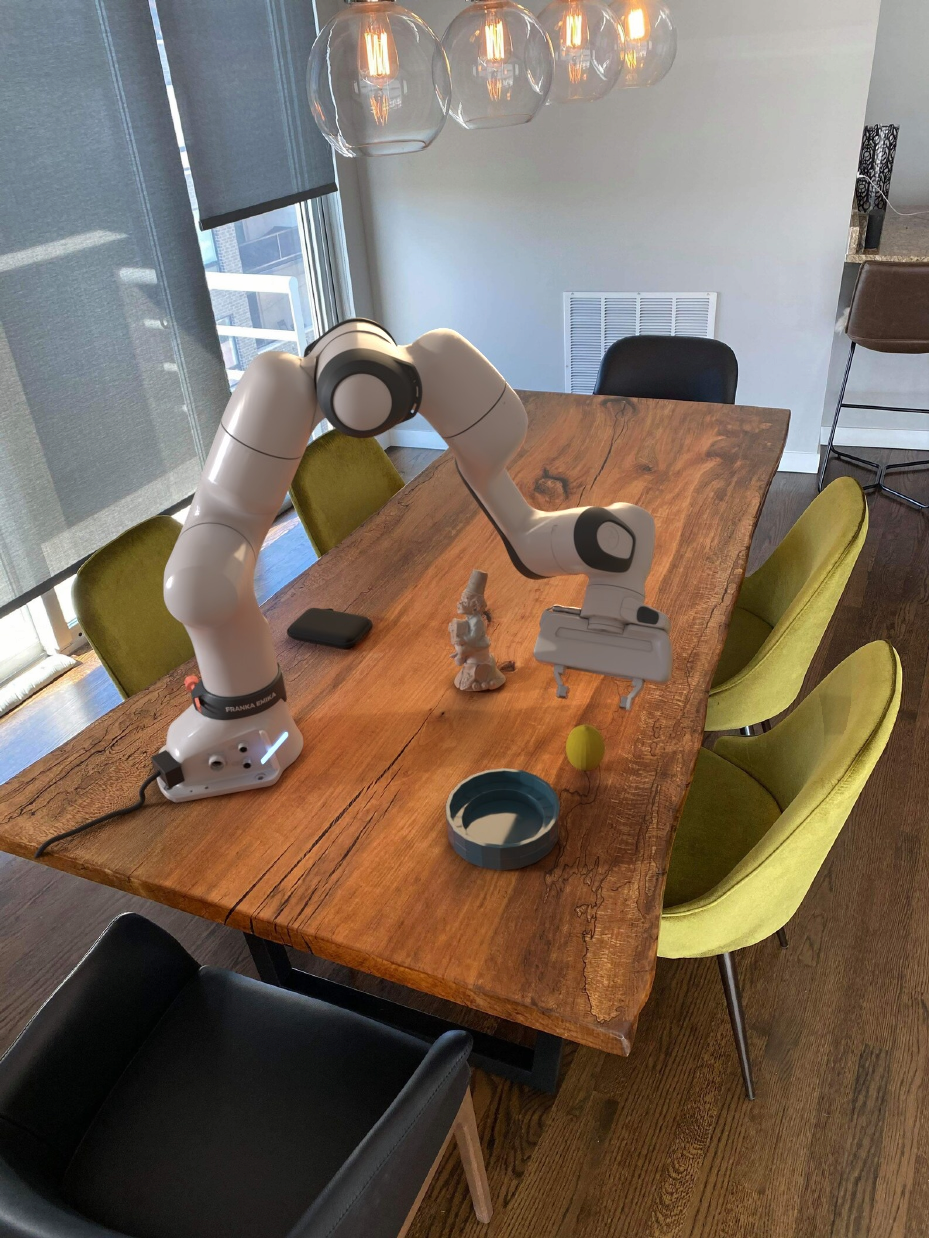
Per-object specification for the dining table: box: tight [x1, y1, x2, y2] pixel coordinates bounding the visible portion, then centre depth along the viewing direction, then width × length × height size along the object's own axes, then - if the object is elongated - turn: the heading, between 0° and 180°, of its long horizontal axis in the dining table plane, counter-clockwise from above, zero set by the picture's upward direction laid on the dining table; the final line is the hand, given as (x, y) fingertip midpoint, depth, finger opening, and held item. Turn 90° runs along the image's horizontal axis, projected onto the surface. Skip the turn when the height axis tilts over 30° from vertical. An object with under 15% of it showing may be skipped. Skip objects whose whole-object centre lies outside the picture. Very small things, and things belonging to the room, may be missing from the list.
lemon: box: [565, 724, 606, 772], centre depth 132 cm, size 6×6×8 cm
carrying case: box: [286, 607, 374, 651], centre depth 170 cm, size 11×3×15 cm
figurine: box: [447, 568, 506, 692], centre depth 150 cm, size 9×8×20 cm
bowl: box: [444, 767, 561, 871], centre depth 123 cm, size 15×15×4 cm
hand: (592, 704), depth 132 cm, fingers open, 8 cm apart
